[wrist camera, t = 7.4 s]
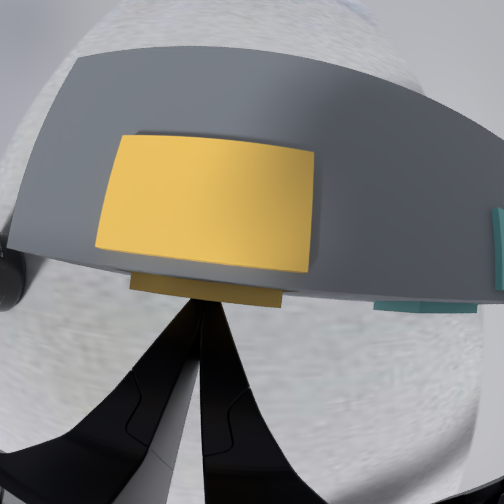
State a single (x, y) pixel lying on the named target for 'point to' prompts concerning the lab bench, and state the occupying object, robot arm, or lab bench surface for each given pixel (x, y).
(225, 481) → the robot arm
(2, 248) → the supplement bottle
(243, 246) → the button panel
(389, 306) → the teal button
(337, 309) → the lab bench surface
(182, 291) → the amber button
